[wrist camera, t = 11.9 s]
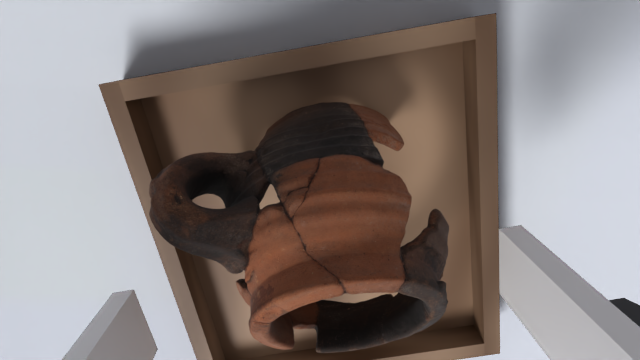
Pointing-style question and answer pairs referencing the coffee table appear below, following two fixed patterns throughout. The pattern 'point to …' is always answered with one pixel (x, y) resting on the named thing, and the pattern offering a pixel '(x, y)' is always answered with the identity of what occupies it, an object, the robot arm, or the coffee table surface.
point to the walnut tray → (409, 163)
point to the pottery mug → (312, 230)
